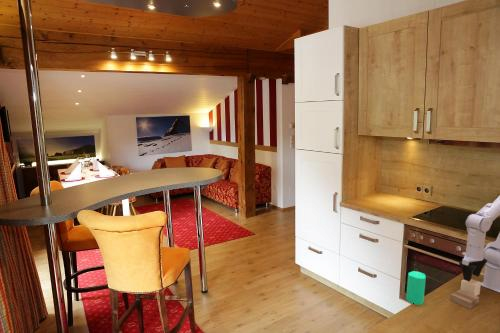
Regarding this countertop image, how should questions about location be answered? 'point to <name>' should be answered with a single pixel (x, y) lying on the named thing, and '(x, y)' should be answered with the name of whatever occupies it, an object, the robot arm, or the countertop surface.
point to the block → (471, 286)
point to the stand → (464, 299)
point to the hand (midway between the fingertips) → (471, 277)
